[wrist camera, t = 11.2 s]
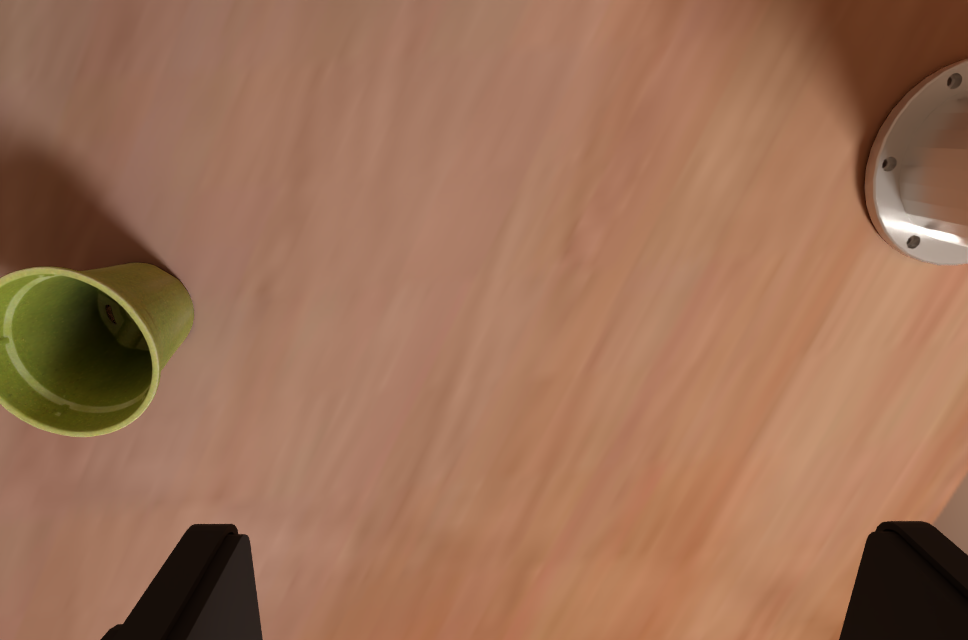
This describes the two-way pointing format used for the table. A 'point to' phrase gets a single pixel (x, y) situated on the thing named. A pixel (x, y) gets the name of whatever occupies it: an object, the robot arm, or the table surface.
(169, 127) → the table surface
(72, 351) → the plant pot
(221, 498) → the table surface
